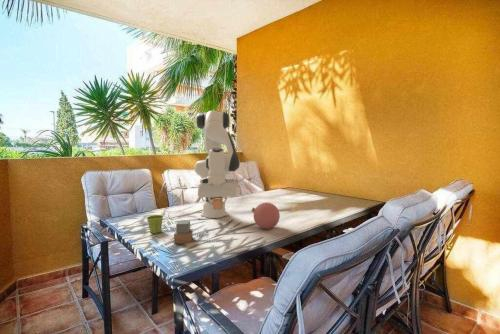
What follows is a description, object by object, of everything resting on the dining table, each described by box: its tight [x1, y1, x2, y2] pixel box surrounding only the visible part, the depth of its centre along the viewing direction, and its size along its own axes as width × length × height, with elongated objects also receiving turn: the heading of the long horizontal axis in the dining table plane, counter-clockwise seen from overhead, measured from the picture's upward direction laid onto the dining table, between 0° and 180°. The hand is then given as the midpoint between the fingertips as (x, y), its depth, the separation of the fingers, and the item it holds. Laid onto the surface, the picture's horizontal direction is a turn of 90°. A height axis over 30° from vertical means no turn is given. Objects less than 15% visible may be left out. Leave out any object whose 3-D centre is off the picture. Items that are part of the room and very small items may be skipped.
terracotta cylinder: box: [213, 198, 223, 210], centre depth 153 cm, size 5×5×5 cm
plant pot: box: [146, 214, 164, 234], centre depth 167 cm, size 9×9×9 cm
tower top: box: [175, 220, 191, 234], centre depth 151 cm, size 6×6×5 cm
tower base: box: [173, 228, 194, 244], centre depth 152 cm, size 8×8×5 cm
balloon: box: [251, 202, 281, 230], centre depth 173 cm, size 15×20×15 cm
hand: (217, 205), depth 153 cm, fingers closed on terracotta cylinder, 5 cm apart
